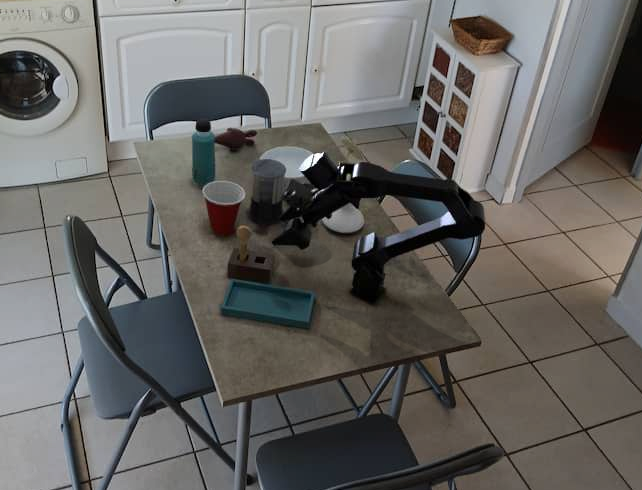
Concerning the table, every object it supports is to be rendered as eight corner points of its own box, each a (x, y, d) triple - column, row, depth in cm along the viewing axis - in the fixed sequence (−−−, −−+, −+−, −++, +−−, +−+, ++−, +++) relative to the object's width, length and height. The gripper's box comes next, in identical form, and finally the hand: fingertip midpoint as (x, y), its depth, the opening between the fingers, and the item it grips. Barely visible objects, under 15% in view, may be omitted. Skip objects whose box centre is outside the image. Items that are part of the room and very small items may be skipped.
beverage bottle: (220, 182, 210) (221, 120, 198) (205, 193, 205) (205, 130, 194) (202, 174, 213) (201, 112, 201) (186, 184, 208) (185, 122, 196)
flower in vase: (369, 234, 197) (383, 154, 182) (328, 239, 193) (339, 158, 179) (353, 206, 207) (364, 127, 192) (314, 210, 203) (322, 131, 189)
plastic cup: (251, 234, 192) (253, 197, 185) (213, 246, 187) (213, 207, 180) (232, 212, 199) (233, 175, 192) (195, 222, 194) (195, 184, 187)
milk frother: (245, 205, 202) (247, 159, 194) (301, 200, 207) (305, 155, 198) (256, 237, 191) (259, 190, 183) (315, 231, 196) (320, 185, 187)
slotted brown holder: (273, 268, 182) (274, 254, 180) (269, 284, 177) (270, 269, 175) (233, 261, 183) (233, 247, 180) (227, 277, 178) (227, 263, 175)
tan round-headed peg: (249, 270, 181) (252, 225, 173) (248, 274, 180) (250, 229, 172) (236, 268, 181) (237, 223, 173) (234, 272, 180) (236, 227, 172)
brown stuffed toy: (213, 140, 216) (261, 138, 222) (207, 123, 220) (254, 120, 226) (209, 157, 221) (256, 154, 227) (203, 139, 225) (250, 137, 231)
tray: (314, 298, 175) (315, 292, 173) (308, 328, 166) (309, 322, 165) (230, 285, 176) (231, 278, 175) (220, 314, 168) (220, 307, 167)
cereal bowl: (299, 161, 223) (300, 140, 219) (328, 189, 212) (330, 169, 208) (248, 173, 215) (249, 152, 211) (276, 204, 204) (277, 183, 200)
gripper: (311, 153, 169) (261, 185, 176) (298, 199, 154) (244, 232, 161) (341, 187, 173) (291, 217, 181) (331, 235, 158) (277, 265, 165)
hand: (276, 231), depth 172 cm, fingers open, 9 cm apart
